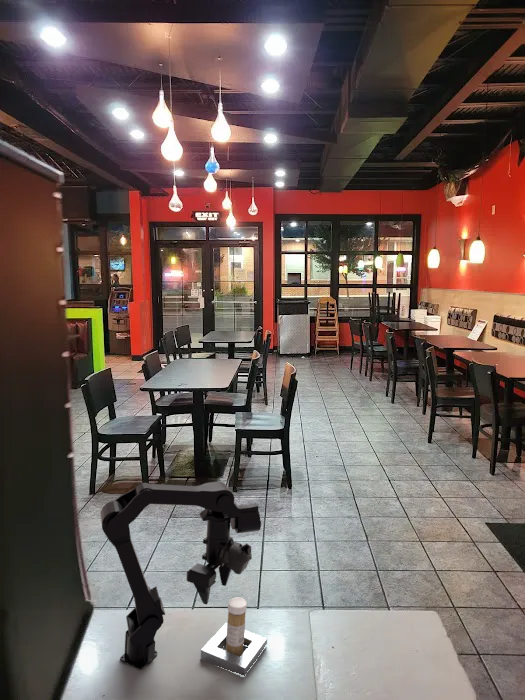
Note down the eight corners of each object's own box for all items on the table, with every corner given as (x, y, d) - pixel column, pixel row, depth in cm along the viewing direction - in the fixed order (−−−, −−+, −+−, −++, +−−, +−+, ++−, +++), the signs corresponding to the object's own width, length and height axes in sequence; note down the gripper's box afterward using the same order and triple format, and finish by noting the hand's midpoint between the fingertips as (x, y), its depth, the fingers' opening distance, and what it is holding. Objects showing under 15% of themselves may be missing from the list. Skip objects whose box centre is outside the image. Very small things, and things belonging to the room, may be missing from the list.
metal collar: (200, 659, 119) (201, 649, 119) (225, 631, 130) (225, 622, 129) (244, 678, 114) (244, 668, 113) (266, 647, 124) (267, 638, 124)
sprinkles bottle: (236, 644, 125) (239, 594, 124) (247, 655, 121) (250, 603, 120) (221, 651, 122) (224, 600, 121) (232, 662, 118) (235, 609, 117)
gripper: (228, 559, 110) (224, 625, 112) (263, 528, 127) (259, 585, 129) (186, 546, 115) (183, 610, 116) (225, 518, 132) (222, 573, 133)
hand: (214, 594), depth 123 cm, fingers open, 9 cm apart
